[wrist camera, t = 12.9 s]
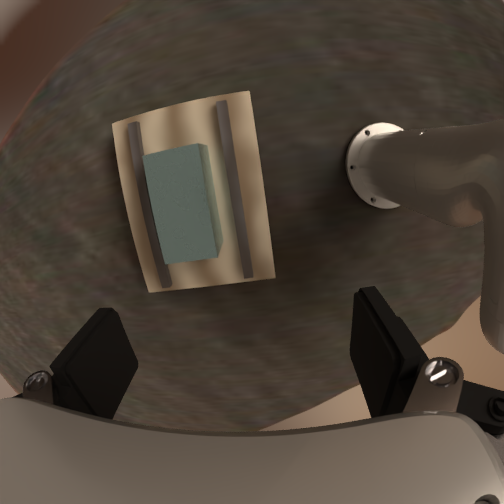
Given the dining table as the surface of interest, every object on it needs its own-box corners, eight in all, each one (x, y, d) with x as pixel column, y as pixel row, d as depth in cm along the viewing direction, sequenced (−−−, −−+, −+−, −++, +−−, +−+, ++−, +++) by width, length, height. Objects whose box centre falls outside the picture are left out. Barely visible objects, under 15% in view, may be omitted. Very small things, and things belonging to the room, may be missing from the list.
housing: (223, 240, 35) (217, 257, 29) (178, 247, 35) (165, 264, 29) (207, 145, 31) (197, 143, 25) (160, 155, 31) (142, 155, 26)
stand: (249, 97, 32) (249, 88, 27) (273, 266, 40) (276, 281, 35) (124, 126, 33) (107, 123, 28) (157, 280, 41) (146, 296, 36)
